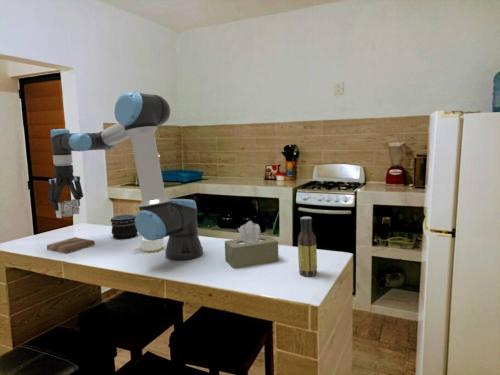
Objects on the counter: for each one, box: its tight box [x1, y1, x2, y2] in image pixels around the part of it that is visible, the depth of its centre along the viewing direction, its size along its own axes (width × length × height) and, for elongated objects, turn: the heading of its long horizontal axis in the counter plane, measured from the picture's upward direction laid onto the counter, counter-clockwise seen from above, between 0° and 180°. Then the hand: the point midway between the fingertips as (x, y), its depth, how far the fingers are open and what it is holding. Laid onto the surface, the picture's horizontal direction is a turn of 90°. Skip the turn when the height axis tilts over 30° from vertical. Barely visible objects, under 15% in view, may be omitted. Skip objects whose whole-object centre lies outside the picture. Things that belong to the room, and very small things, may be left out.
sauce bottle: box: [297, 215, 318, 278], centre depth 128 cm, size 6×6×20 cm
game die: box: [60, 198, 80, 219], centre depth 166 cm, size 9×8×10 cm
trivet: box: [46, 236, 96, 254], centre depth 169 cm, size 14×14×2 cm
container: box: [110, 213, 139, 240], centre depth 185 cm, size 13×13×10 cm
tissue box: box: [224, 220, 279, 269], centre depth 143 cm, size 19×10×16 cm, turn 112°
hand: (68, 215), depth 167 cm, fingers closed on game die, 8 cm apart
